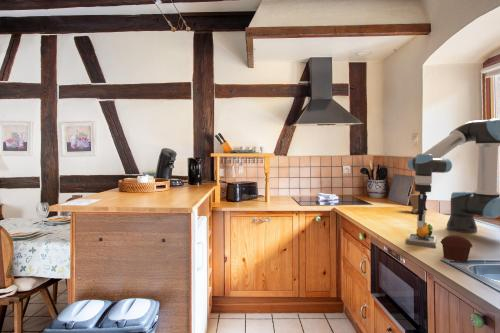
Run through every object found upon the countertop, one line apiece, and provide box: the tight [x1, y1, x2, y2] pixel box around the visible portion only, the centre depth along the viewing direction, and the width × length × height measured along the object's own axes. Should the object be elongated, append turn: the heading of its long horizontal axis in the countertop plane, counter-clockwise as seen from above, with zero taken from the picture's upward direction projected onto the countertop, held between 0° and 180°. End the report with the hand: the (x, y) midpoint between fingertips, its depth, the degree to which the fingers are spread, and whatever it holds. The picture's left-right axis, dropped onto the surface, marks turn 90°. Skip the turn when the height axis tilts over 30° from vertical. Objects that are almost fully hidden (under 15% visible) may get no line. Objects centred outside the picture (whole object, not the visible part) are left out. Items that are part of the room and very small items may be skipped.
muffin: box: [440, 234, 473, 263], centre depth 136 cm, size 12×11×10 cm
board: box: [405, 232, 437, 249], centre depth 161 cm, size 13×15×2 cm
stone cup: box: [408, 193, 427, 215], centre depth 236 cm, size 15×12×15 cm
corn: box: [415, 221, 434, 239], centre depth 159 cm, size 7×8×20 cm
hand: (421, 224), depth 160 cm, fingers open, 13 cm apart
